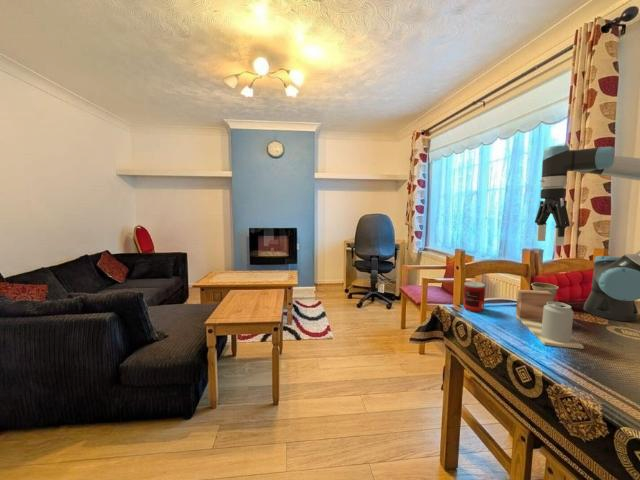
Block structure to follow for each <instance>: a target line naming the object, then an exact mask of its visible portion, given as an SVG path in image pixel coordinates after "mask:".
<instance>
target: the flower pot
mask: <svg viewBox="0 0 640 480" xmlns="http://www.w3.org/2000/svg"><path fill="white" fill-rule="evenodd" d="M530 285H531V286H532V287H531V288H532V290H535V291H548V292H550V293H552V294H553V302H555V297H556V293H557V292H558V290H559V286H557V285H555V284H552V283H546V282H532V283H531V284H530Z"/></svg>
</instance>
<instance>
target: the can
mask: <svg viewBox="0 0 640 480" xmlns="http://www.w3.org/2000/svg"><path fill="white" fill-rule="evenodd" d="M574 313H575V312H574V310H573V309H572V306H571V305H569V304H567V303H565V302H559V301H554V302H547V305H545V306H544V309H543V319H542V330H541V335H542V336H543V337H545V338H547V339H549V340H552V341H557V342H570V341H571V337H572V332H573V323H574Z"/></svg>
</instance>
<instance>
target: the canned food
mask: <svg viewBox="0 0 640 480" xmlns="http://www.w3.org/2000/svg"><path fill="white" fill-rule="evenodd" d="M463 285H464V286H463V289H464V290H463V308H465V309H464V310H466V311H468V312H470V313H471V312H472V313H481V312H483V311H484V309H485V296H486V285H485V284H484V283H483V282H481V281H465V282H464V284H463Z"/></svg>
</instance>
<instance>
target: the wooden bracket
mask: <svg viewBox="0 0 640 480" xmlns="http://www.w3.org/2000/svg"><path fill="white" fill-rule="evenodd" d="M516 292H517V293H516V294H517V295H516V307H515V308H516V309H515V317H516V318H517V319H518V320H519V321H520V322H521V323H522V324H523V325H524V326H525V327H526V328H527V329H528V330H529V331H530V332H531V333H532V335H534V336H535V337H536V338H537V339H538V340H539V341H540V342H541V343H542V344H543V345H544V346H551V347H552V346H553V347H559V348H560V347H561V348H571V349H582V350H584V345H582V344H581V343H580V342H579V341H577V340H576V339H575V338H574V337H573V336H571V341H570V342H557V341H552V340H549V339H547V338H545V337H543V336H542V335H541V330H542V319H543V309H544V306H545V305H547V302H553V294H552V293H550V292H548V291H535V290H533V289H532V290H531V289H517V291H516Z"/></svg>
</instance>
